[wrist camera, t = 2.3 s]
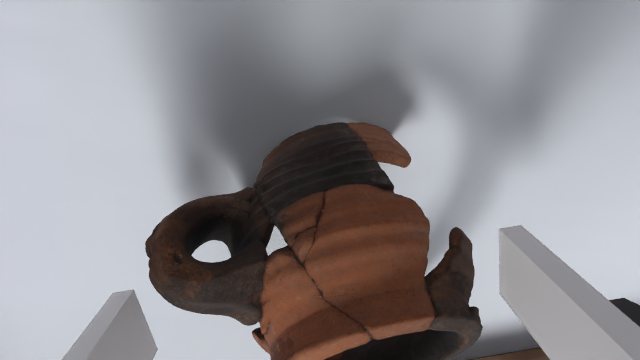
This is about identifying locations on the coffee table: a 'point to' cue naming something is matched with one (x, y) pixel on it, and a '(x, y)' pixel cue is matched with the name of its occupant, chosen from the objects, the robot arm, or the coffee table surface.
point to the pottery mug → (323, 256)
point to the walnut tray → (520, 355)
